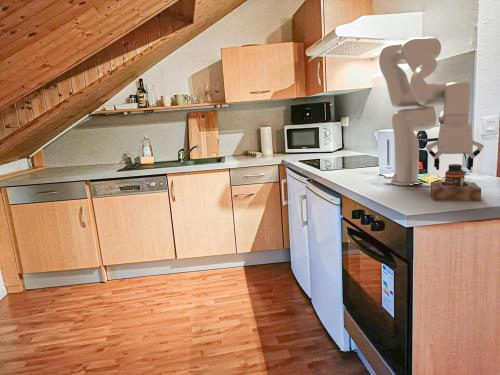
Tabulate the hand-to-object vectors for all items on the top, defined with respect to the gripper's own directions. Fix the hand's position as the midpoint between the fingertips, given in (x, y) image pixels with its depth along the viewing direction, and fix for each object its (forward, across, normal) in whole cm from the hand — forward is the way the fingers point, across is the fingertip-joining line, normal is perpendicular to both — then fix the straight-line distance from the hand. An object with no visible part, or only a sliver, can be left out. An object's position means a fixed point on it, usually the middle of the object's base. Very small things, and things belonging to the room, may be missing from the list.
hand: (452, 169), depth 125 cm
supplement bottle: (+10, +1, -1) cm, 10 cm away
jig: (+10, +1, -1) cm, 10 cm away
